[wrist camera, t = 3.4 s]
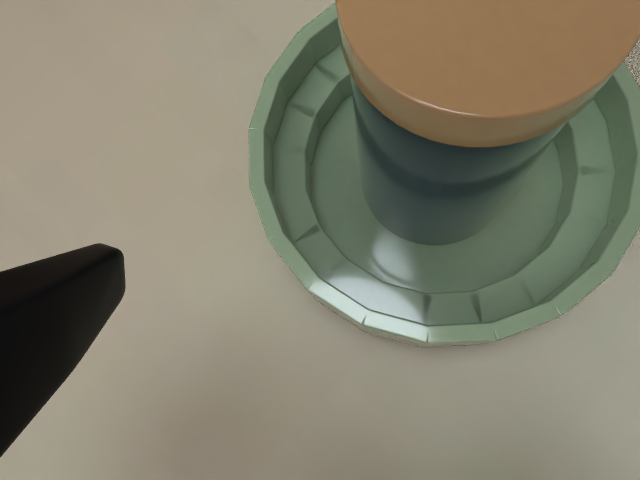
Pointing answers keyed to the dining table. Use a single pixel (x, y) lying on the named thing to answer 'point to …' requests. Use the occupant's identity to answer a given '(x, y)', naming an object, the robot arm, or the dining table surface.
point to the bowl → (438, 260)
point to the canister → (469, 98)
